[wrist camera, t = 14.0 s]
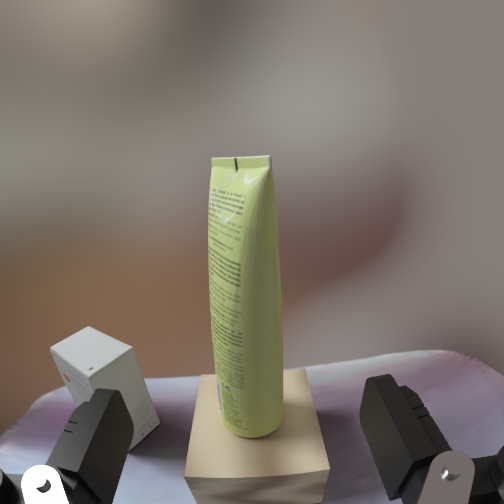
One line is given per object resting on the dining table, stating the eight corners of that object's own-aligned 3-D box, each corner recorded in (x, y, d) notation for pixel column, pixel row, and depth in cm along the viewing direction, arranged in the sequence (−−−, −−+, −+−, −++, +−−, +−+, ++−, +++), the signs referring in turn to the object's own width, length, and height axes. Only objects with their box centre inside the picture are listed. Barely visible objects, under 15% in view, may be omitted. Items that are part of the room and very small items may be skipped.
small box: (161, 424, 28) (135, 346, 25) (127, 454, 24) (88, 377, 21) (115, 396, 32) (89, 324, 29) (83, 420, 28) (48, 346, 25)
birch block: (199, 508, 18) (183, 476, 17) (209, 415, 30) (201, 374, 28) (321, 502, 18) (330, 468, 17) (302, 409, 30) (304, 368, 28)
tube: (298, 404, 24) (296, 152, 18) (280, 448, 19) (270, 152, 13) (236, 392, 26) (212, 157, 20) (210, 430, 21) (166, 161, 15)
